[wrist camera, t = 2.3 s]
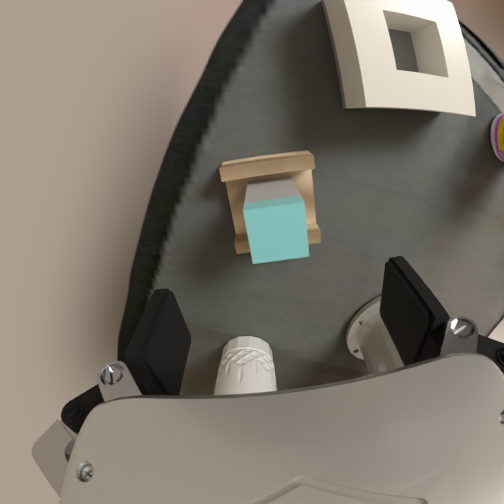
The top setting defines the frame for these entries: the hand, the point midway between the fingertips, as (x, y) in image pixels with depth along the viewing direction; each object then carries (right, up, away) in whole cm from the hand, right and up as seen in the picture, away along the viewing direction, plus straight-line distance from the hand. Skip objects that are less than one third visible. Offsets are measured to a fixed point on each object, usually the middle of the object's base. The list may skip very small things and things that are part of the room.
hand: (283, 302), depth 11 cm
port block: (+12, +22, +7) cm, 26 cm away
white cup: (-2, -12, +25) cm, 28 cm away
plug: (+1, +7, +14) cm, 16 cm away
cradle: (+1, +7, +15) cm, 17 cm away
